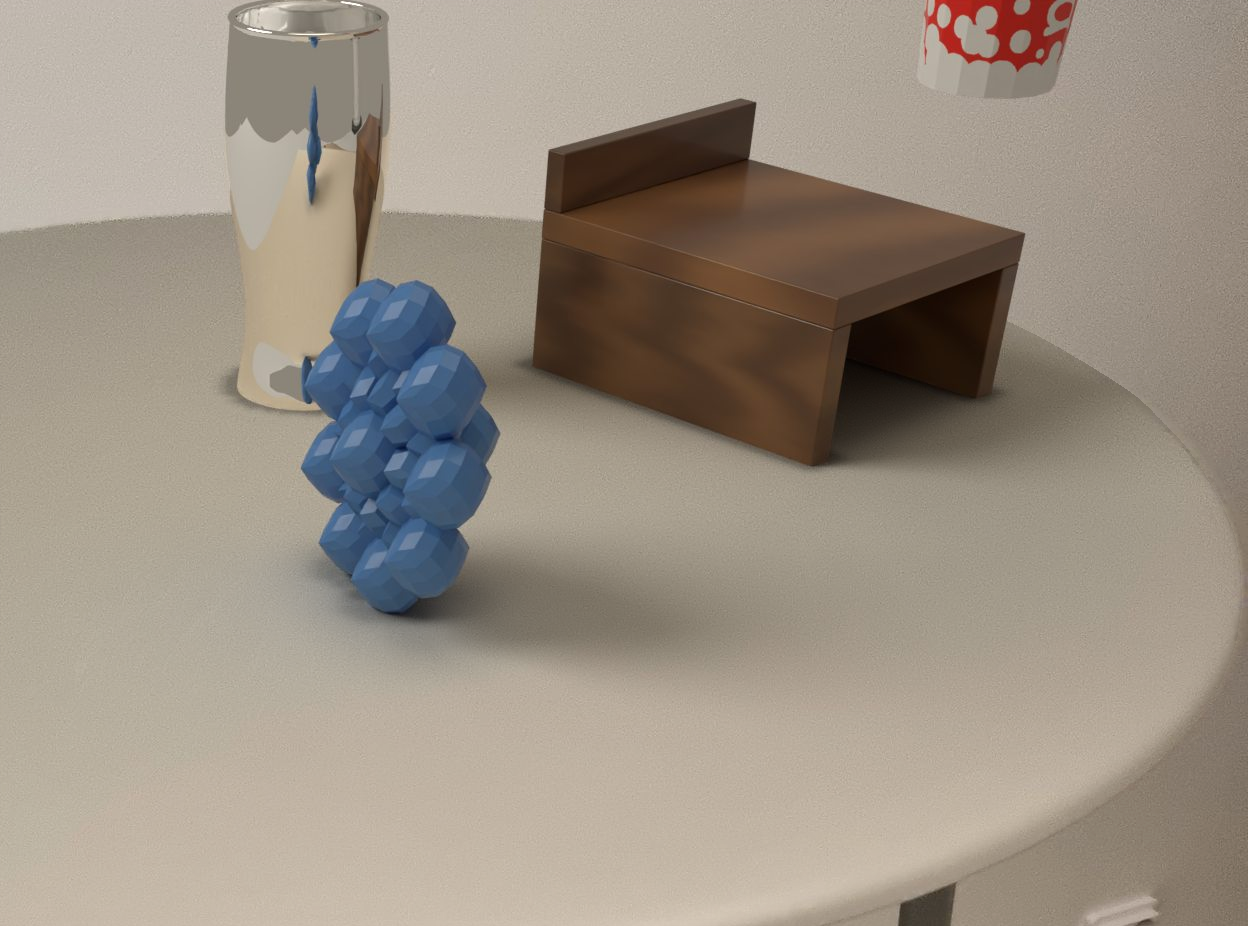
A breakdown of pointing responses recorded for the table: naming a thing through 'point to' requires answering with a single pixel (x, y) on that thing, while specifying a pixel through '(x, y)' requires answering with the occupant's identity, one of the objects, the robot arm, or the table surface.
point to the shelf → (754, 282)
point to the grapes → (398, 443)
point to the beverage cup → (993, 46)
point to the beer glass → (303, 176)
